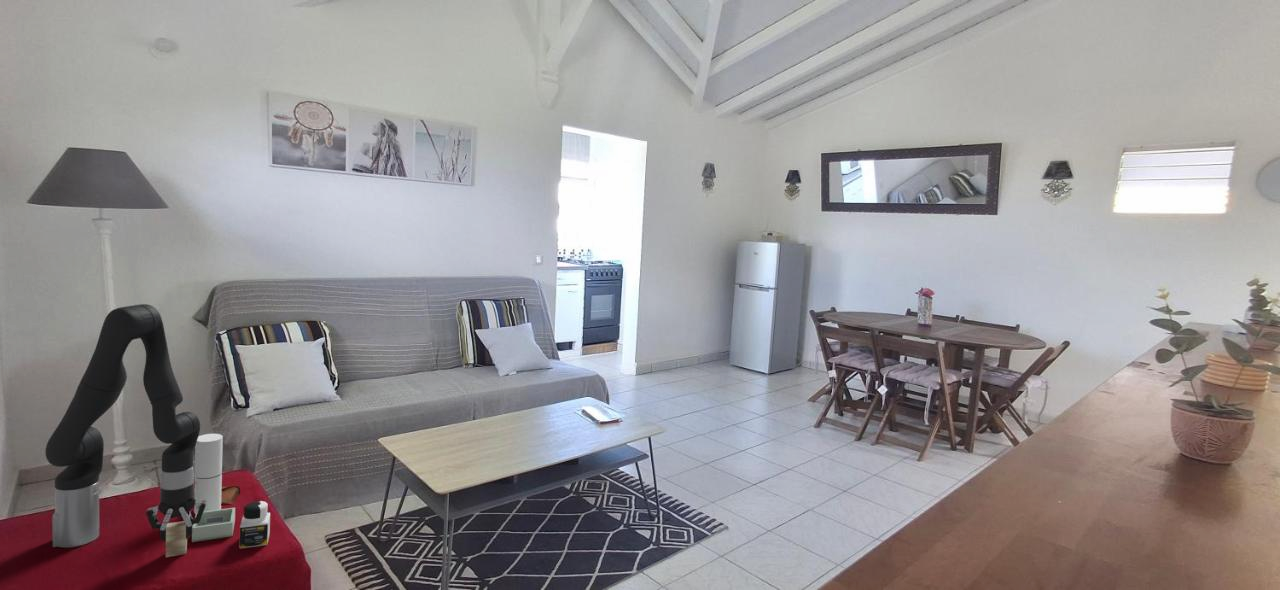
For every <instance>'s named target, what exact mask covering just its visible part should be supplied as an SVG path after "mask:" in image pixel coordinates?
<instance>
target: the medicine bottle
mask: <svg viewBox="0 0 1280 590" xmlns="http://www.w3.org/2000/svg"><path fill="white" fill-rule="evenodd" d="M268 504H269V503H267V502H266V501H263V500H256V501H255V500H254V501H251V502H249V503H247V504H245V505H244V507H243V515H242V517H241V518H242V519H241V522H240V526H239V547H238V548H239V549H247V548H253V547H254V548H255V547H261V546H267V545H268V542H269V538H270V533H271V531H270V530H271V529H270V528H271V512H268Z"/></svg>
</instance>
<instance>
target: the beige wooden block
mask: <svg viewBox="0 0 1280 590" xmlns="http://www.w3.org/2000/svg"><path fill="white" fill-rule="evenodd" d="M186 526H187V525H186V523H185V521H184V520H183V521H174V522H168V524H167V526H166V542H165V558H169V557H175V556H176V557H177V556H181V555H186V554H187V550H188V548H187V547H188V539H186Z"/></svg>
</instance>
